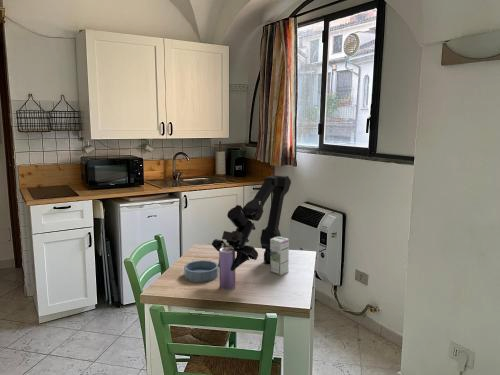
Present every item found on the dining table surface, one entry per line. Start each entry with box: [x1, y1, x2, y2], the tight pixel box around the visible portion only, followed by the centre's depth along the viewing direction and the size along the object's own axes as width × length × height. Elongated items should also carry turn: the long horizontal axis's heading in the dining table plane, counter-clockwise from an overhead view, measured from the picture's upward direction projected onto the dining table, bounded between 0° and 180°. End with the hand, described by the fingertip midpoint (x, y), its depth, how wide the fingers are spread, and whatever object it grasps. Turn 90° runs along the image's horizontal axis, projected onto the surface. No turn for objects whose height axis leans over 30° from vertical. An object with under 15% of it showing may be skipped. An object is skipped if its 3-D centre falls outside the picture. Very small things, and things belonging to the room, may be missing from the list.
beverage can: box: [218, 247, 236, 291], centre depth 153 cm, size 6×6×15 cm
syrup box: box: [269, 236, 290, 276], centre depth 169 cm, size 6×6×14 cm
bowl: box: [183, 259, 219, 283], centre depth 166 cm, size 14×14×4 cm
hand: (225, 268), depth 152 cm, fingers closed on beverage can, 6 cm apart
